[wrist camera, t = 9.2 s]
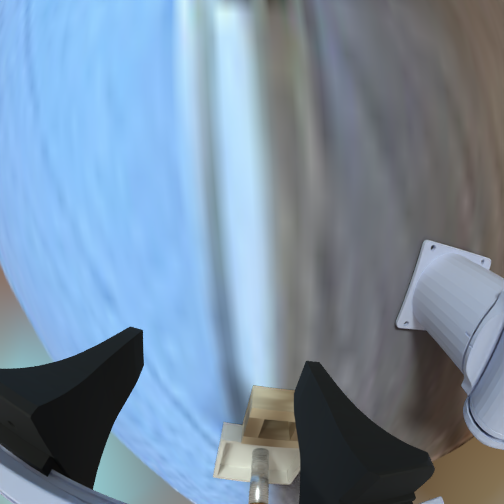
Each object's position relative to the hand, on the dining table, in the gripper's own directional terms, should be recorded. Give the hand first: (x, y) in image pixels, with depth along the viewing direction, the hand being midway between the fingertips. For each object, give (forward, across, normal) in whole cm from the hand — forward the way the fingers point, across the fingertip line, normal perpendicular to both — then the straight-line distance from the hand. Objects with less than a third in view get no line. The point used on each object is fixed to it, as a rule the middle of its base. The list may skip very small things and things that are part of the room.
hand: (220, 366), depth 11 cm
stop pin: (+10, -6, +22) cm, 25 cm away
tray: (+10, -6, +22) cm, 25 cm away
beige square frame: (+10, -6, +14) cm, 18 cm away
